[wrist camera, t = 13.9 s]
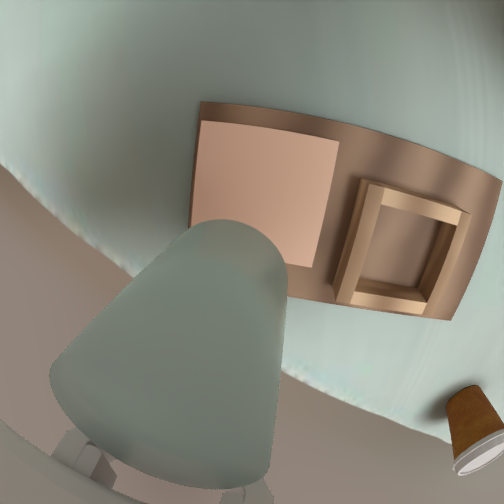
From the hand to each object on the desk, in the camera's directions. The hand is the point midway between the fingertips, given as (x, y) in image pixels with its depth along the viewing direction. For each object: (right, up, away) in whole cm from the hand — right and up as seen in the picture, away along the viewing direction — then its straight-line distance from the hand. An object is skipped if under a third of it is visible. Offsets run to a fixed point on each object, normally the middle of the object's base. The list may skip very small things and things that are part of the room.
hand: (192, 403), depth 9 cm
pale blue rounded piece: (+1, +3, +3) cm, 4 cm away
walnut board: (+11, +8, +13) cm, 19 cm away
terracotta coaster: (+3, +10, +12) cm, 16 cm away
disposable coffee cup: (+34, -17, +21) cm, 43 cm away
